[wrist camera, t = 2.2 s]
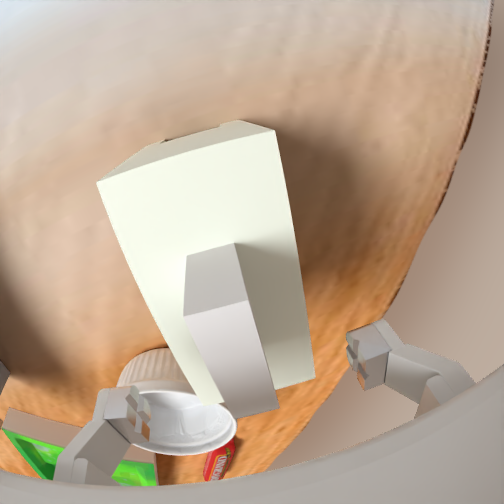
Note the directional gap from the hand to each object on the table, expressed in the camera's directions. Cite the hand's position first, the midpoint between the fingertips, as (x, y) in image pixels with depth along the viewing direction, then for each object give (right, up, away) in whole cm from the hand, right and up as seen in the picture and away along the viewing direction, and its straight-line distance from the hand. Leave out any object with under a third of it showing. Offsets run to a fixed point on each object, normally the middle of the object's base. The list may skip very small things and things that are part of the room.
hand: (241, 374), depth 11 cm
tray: (-29, -32, +30) cm, 53 cm away
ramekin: (-9, -10, +22) cm, 25 cm away
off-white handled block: (-3, +7, +14) cm, 16 cm away
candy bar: (-5, -29, +32) cm, 43 cm away
